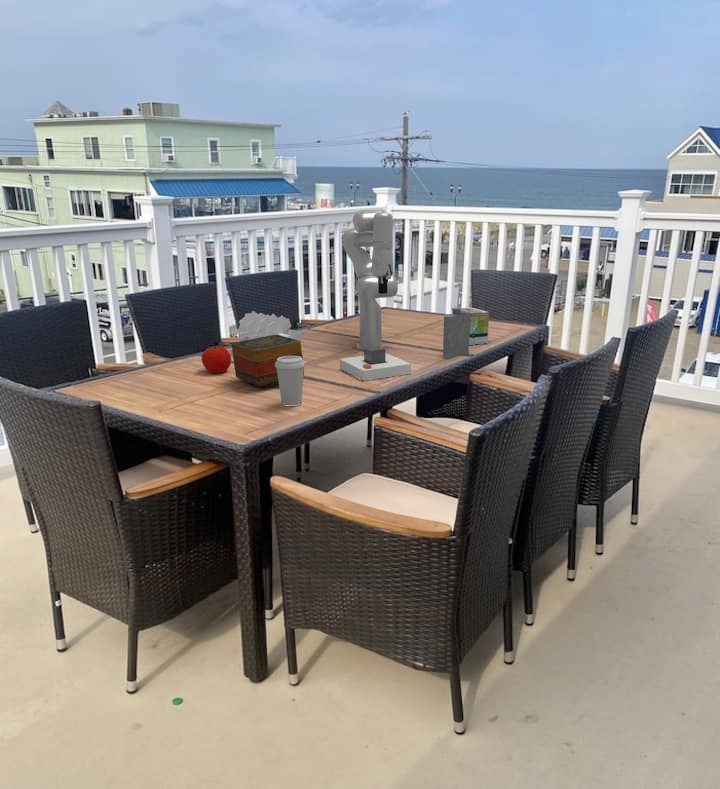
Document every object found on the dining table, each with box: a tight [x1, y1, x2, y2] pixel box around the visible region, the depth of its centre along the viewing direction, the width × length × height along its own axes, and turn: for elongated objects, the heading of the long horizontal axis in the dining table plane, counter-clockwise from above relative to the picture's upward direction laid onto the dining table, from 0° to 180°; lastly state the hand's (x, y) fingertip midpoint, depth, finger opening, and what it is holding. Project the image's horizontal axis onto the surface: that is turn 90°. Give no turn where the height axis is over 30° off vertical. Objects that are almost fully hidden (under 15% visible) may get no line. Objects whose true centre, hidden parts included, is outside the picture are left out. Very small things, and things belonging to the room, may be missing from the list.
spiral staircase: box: [236, 310, 304, 343], centre depth 258 cm, size 18×18×25 cm
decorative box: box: [231, 335, 305, 388], centre depth 219 cm, size 20×22×16 cm
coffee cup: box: [275, 356, 306, 405], centre depth 195 cm, size 10×10×15 cm
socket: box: [339, 352, 412, 381], centre depth 232 cm, size 20×20×5 cm
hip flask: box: [442, 307, 470, 360], centre depth 253 cm, size 16×4×20 cm, turn 136°
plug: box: [363, 346, 386, 365], centre depth 231 cm, size 6×6×8 cm
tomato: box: [201, 345, 232, 374], centre depth 234 cm, size 11×13×10 cm
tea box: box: [460, 306, 490, 346], centre depth 278 cm, size 15×10×15 cm, turn 22°
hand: (382, 293), depth 243 cm, fingers closed
